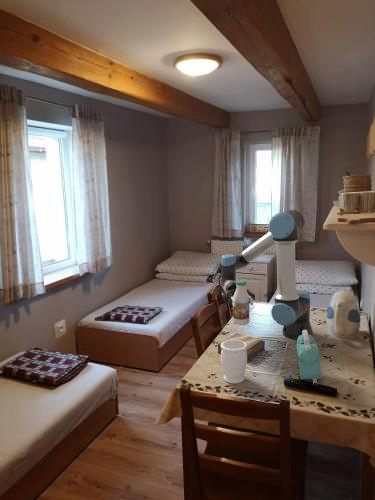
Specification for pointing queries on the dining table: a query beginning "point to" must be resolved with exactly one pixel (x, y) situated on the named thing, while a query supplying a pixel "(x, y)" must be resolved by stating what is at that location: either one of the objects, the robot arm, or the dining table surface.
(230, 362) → the jar
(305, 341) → the alarm clock
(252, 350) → the walnut stand
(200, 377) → the dining table surface
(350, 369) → the dining table surface
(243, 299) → the milk bottle
